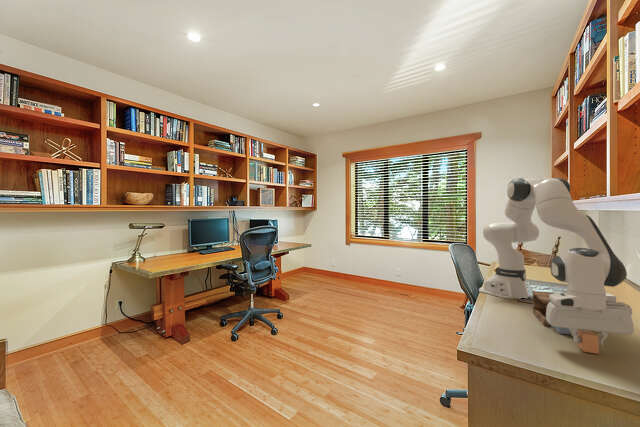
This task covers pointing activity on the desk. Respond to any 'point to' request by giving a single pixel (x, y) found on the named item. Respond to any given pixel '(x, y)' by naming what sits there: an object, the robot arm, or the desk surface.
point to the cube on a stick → (583, 339)
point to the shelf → (541, 305)
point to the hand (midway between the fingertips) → (588, 343)
